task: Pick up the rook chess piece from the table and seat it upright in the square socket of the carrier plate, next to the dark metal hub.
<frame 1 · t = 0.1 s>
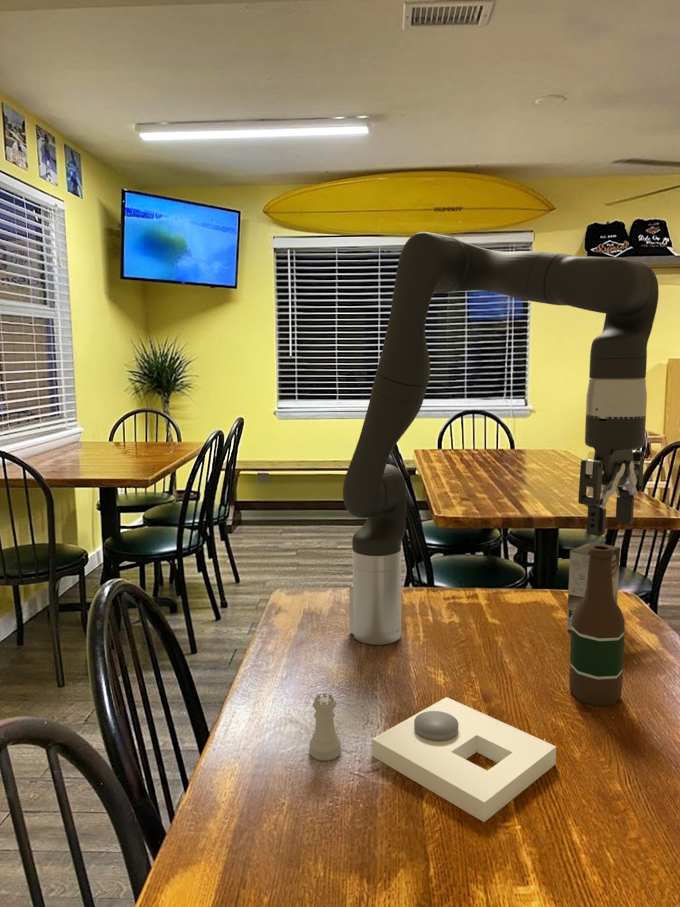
hand: (610, 529, 92), 29 cm above the table, tool pointing down, fingers open, 8 cm apart
rook chess piece: (325, 754, 91), on the table
carrier plate: (462, 760, 88), on the table
beer bottle: (594, 696, 105), on the table
coffee box: (591, 628, 131), on the table
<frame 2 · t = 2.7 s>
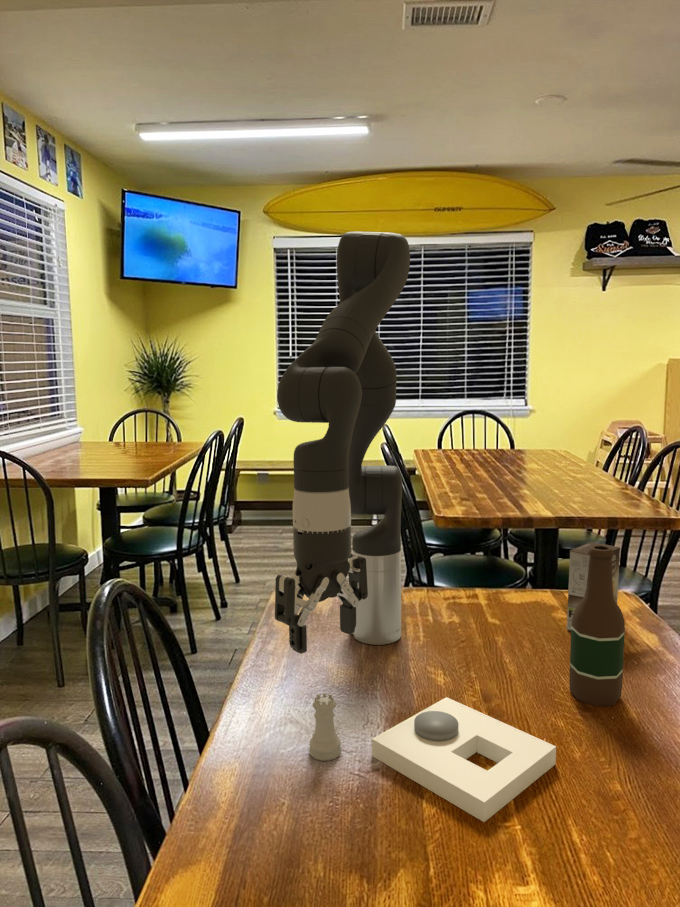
hand: (324, 641, 88), 16 cm above the table, tool pointing down, fingers open, 8 cm apart
nothing on the table moved.
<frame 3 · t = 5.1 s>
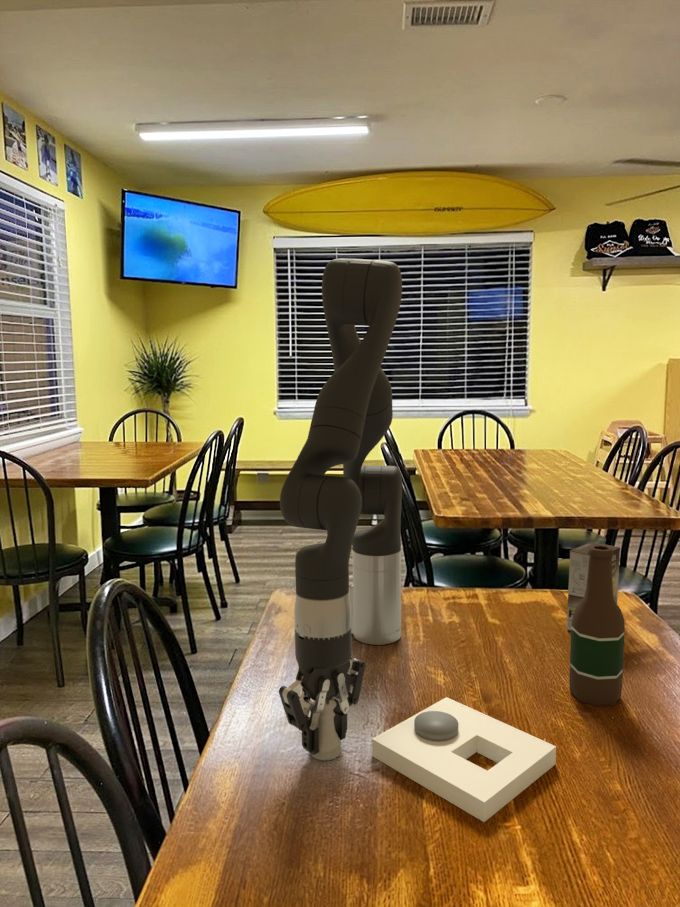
hand: (325, 743, 90), 1 cm above the table, tool pointing down, fingers closed on rook chess piece, 4 cm apart
rook chess piece: (325, 754, 91), on the table, touching gripper
everything else where it was.
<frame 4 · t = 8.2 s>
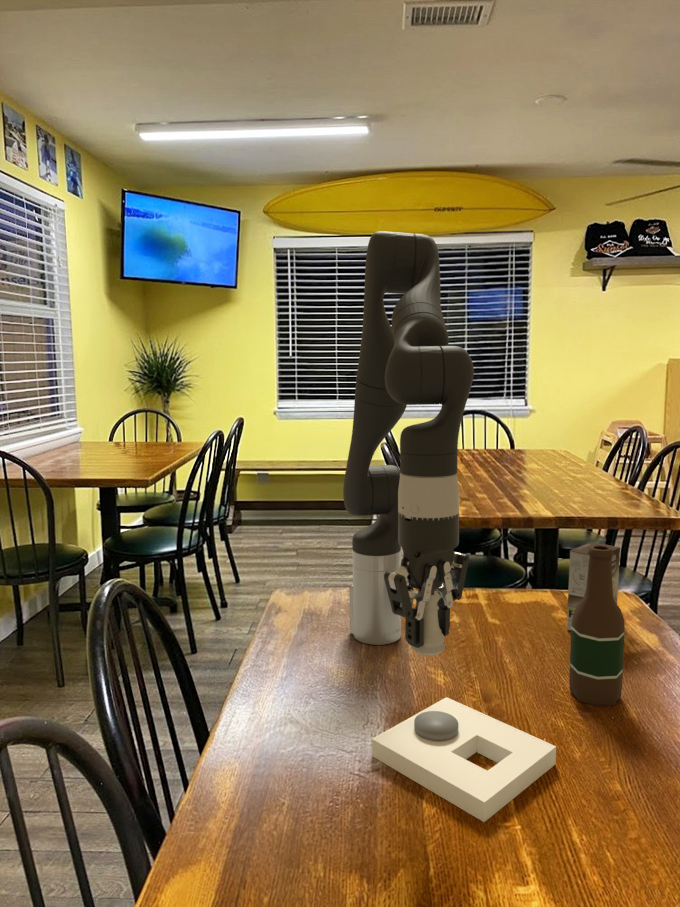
hand: (428, 639, 85), 17 cm above the table, tool pointing down, fingers closed on rook chess piece, 4 cm apart
rook chess piece: (428, 650, 85), point 16 cm above the table, touching gripper
everything else where it was.
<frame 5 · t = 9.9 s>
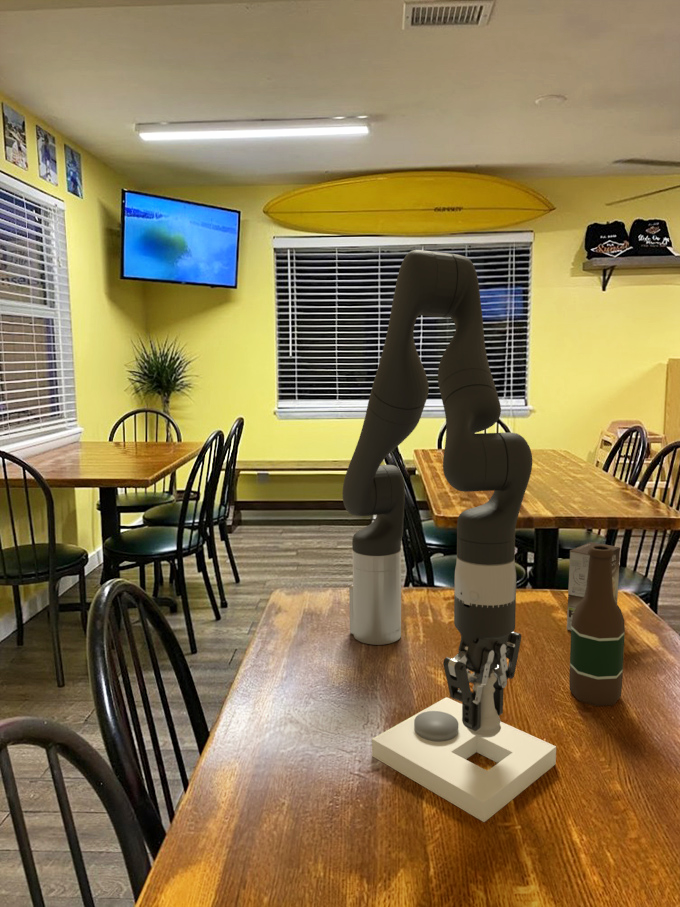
hand: (482, 719, 85), 7 cm above the table, tool pointing down, fingers closed on rook chess piece, 4 cm apart
rook chess piece: (483, 730, 85), point 5 cm above the table, touching gripper
everything else where it was.
when the fingers open (4 cm above the table, at t = 11.4 s): rook chess piece drops 2 cm, on the table.
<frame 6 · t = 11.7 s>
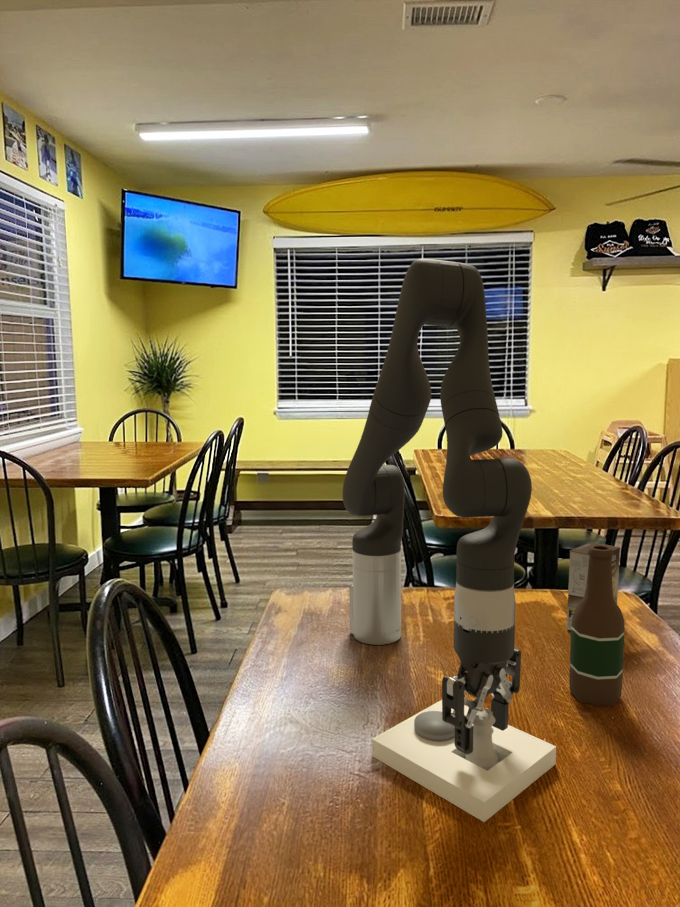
hand: (482, 738, 86), 4 cm above the table, tool pointing down, fingers open, 7 cm apart
rook chess piece: (481, 770, 86), on the table
everything else where it was.
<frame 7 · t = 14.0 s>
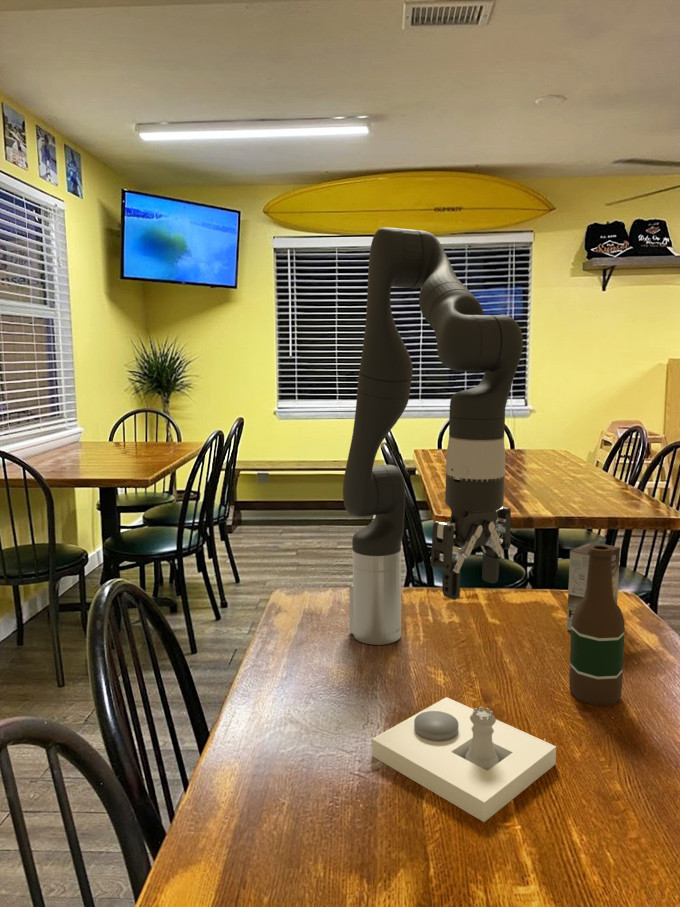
hand: (471, 589, 89), 22 cm above the table, tool pointing down, fingers open, 8 cm apart
nothing on the table moved.
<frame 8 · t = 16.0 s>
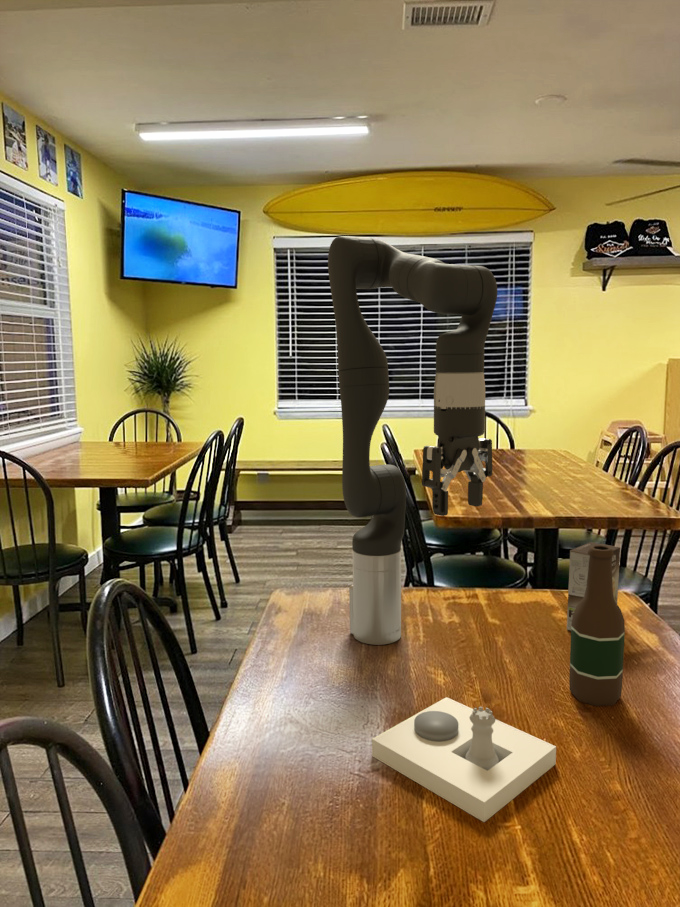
hand: (458, 510, 101), 30 cm above the table, tool pointing down, fingers open, 8 cm apart
nothing on the table moved.
at the end: rook chess piece 0.1 cm from the target spot on the carrier plate, point 0.0 cm above the carrier plate's base; rook chess piece tilted 0°; the gripper is holding nothing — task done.
